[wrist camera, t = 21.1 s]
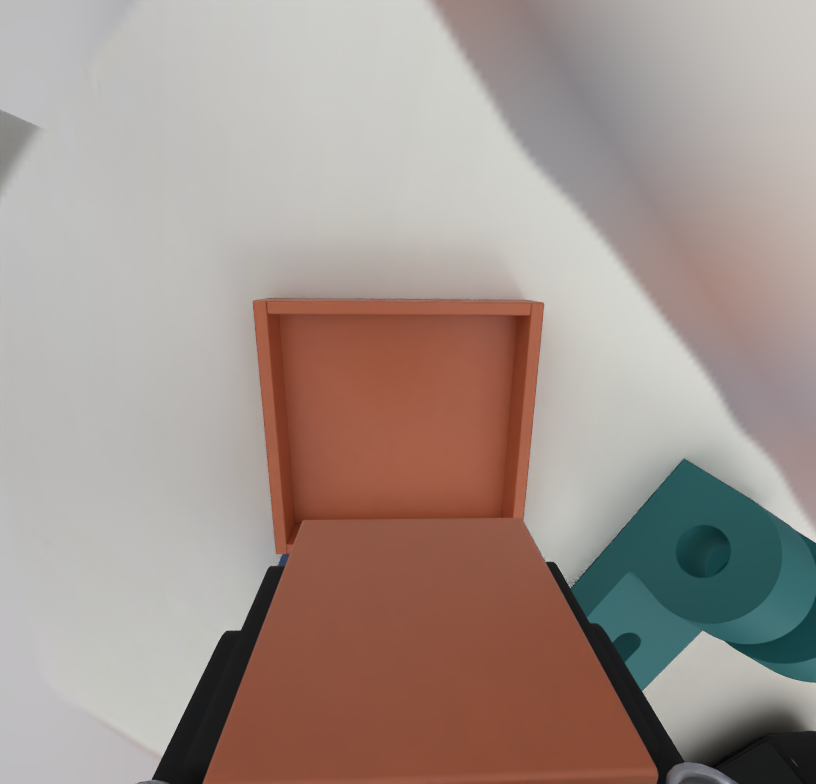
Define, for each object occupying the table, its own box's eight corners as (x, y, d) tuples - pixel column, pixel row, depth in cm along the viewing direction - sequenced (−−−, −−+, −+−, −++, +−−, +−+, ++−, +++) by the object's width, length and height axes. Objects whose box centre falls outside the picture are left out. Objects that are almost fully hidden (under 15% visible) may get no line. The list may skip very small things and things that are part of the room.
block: (313, 689, 10) (244, 1043, 6) (302, 518, 9) (198, 789, 4) (505, 684, 11) (600, 1023, 6) (521, 516, 9) (663, 773, 4)
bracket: (684, 458, 24) (822, 543, 16) (762, 511, 25) (926, 613, 17) (503, 665, 27) (546, 814, 20) (579, 703, 28) (647, 856, 21)
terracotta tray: (287, 526, 24) (275, 554, 21) (268, 298, 20) (252, 300, 18) (508, 523, 24) (520, 550, 22) (527, 299, 21) (544, 302, 18)
